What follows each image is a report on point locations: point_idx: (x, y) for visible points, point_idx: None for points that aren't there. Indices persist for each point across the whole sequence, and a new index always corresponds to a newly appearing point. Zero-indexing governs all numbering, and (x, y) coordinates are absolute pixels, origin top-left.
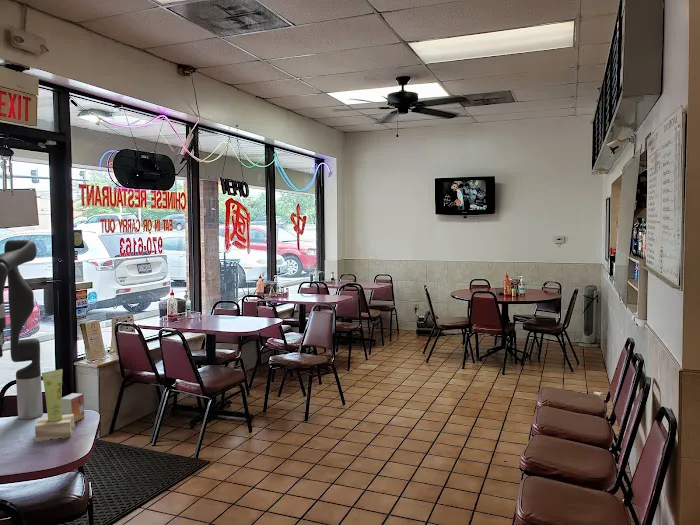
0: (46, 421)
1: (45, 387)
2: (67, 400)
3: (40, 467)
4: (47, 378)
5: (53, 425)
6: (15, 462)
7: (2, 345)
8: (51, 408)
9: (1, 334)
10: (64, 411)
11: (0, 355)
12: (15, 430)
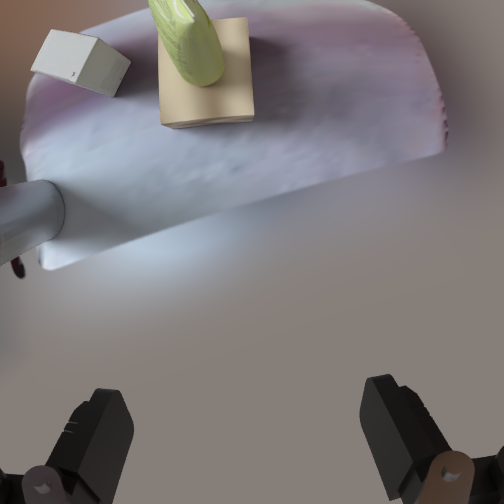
0: (214, 89)
1: (208, 39)
2: (93, 52)
3: (428, 86)
4: (199, 7)
5: (250, 62)
6: (391, 142)
7: (46, 480)
8: (222, 54)
9: None
10: (105, 74)
11: (115, 409)
12: (140, 211)
